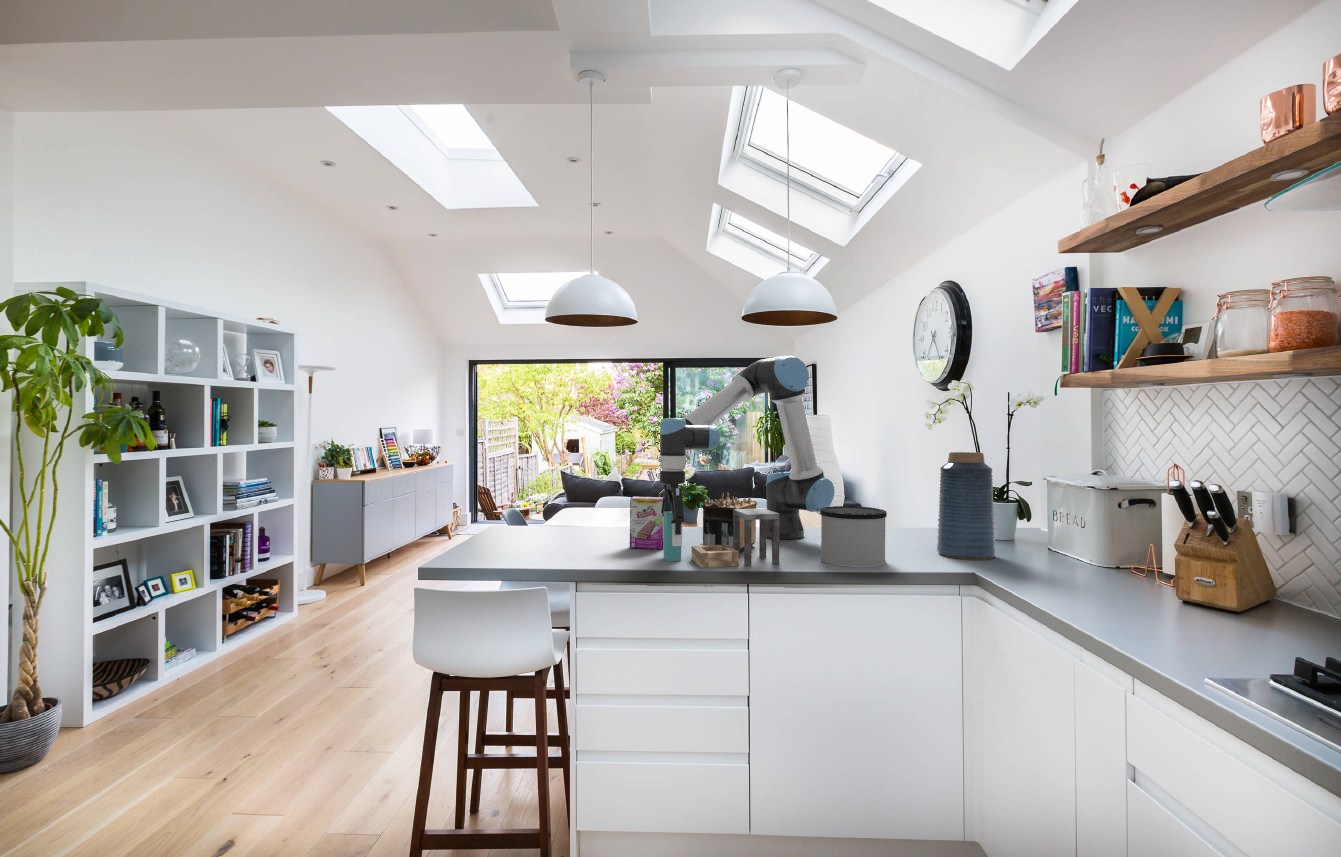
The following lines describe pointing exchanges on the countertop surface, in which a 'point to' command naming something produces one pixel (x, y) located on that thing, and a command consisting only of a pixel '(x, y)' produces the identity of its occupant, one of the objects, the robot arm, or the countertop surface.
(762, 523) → the socket station
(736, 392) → the robot arm
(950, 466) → the vase
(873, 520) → the container
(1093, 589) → the countertop surface
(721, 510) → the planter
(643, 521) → the candy bar box
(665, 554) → the peg
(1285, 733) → the countertop surface
